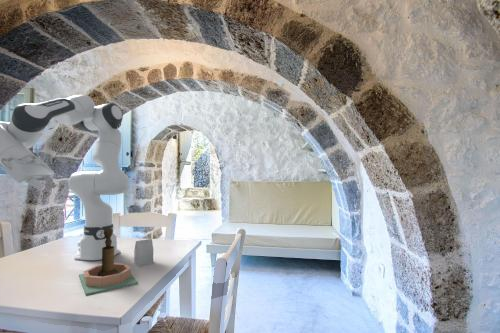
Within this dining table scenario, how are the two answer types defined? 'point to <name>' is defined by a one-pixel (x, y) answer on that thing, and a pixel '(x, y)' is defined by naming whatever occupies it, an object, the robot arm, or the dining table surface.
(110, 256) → the brown wooden chess piece
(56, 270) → the dining table surface
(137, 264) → the tea bag
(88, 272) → the pink octagonal ring
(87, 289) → the green mat
